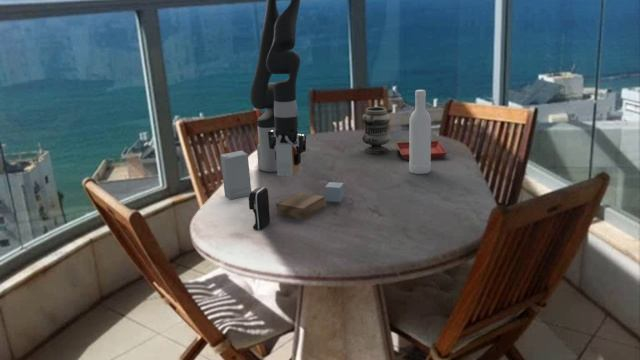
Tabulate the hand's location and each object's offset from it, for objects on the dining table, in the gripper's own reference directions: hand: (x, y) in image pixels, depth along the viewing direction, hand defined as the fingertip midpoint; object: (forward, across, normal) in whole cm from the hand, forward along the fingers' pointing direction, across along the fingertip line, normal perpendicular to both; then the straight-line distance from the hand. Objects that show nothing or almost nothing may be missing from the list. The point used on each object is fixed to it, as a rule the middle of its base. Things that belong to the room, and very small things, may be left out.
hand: (288, 163), depth 201 cm
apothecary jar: (+12, 0, +63) cm, 64 cm away
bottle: (+11, +28, +44) cm, 53 cm away
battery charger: (+11, +8, -27) cm, 30 cm away
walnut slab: (+11, +12, -11) cm, 20 cm away
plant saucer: (+12, +19, +66) cm, 69 cm away
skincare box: (+12, -16, -8) cm, 21 cm away
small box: (+4, 0, 0) cm, 4 cm away
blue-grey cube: (+11, +16, +4) cm, 20 cm away
